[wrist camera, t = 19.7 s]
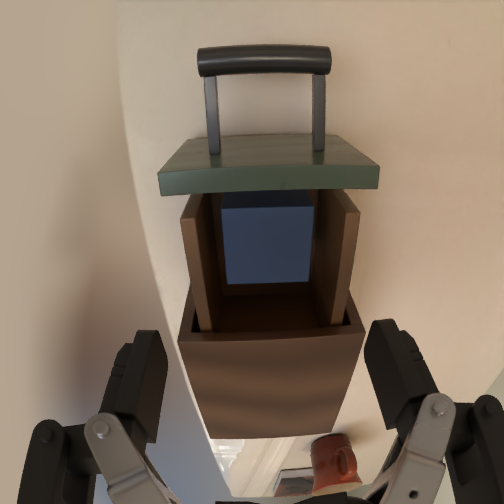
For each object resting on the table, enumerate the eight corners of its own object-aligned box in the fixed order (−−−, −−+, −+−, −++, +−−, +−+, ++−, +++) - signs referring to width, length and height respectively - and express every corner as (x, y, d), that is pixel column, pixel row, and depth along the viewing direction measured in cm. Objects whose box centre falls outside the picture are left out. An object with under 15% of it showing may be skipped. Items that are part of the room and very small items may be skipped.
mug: (342, 448, 50) (350, 492, 41) (299, 450, 49) (304, 498, 40) (368, 420, 44) (380, 472, 35) (320, 423, 43) (328, 480, 34)
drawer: (180, 58, 17) (143, 49, 10) (337, 55, 17) (385, 46, 10) (207, 295, 27) (197, 364, 21) (324, 289, 27) (344, 357, 21)
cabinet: (196, 256, 26) (176, 341, 18) (332, 250, 26) (366, 332, 18) (215, 364, 34) (210, 438, 26) (317, 359, 34) (331, 432, 26)
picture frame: (280, 469, 55) (273, 490, 67) (281, 479, 53) (273, 497, 65) (352, 461, 56) (330, 485, 67) (354, 470, 54) (331, 492, 65)
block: (230, 243, 23) (226, 284, 19) (226, 179, 21) (220, 208, 16) (297, 241, 23) (308, 281, 19) (300, 177, 21) (314, 206, 16)
